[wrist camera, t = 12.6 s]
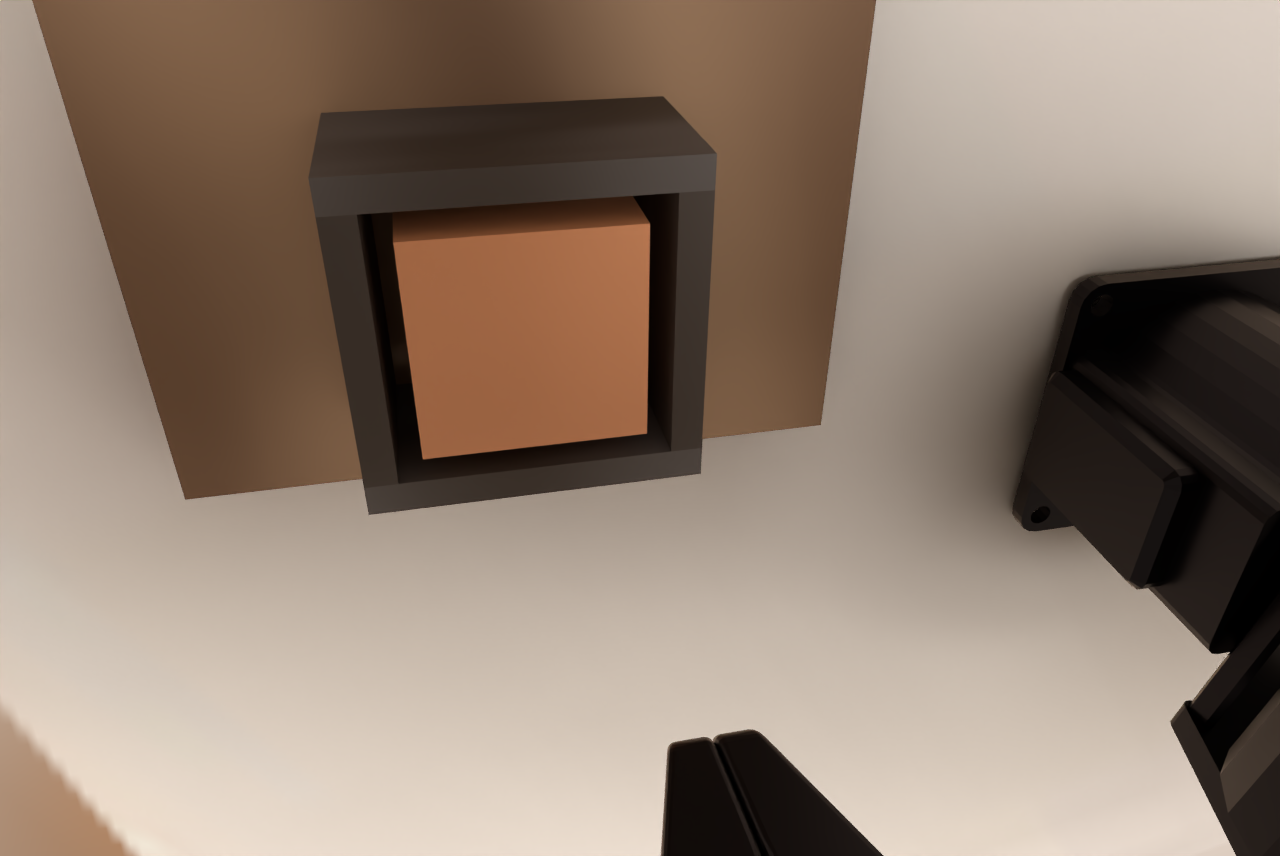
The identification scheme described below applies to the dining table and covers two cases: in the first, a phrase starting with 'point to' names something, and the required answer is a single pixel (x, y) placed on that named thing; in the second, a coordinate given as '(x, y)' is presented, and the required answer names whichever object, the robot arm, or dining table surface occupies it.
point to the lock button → (525, 322)
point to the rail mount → (453, 178)
